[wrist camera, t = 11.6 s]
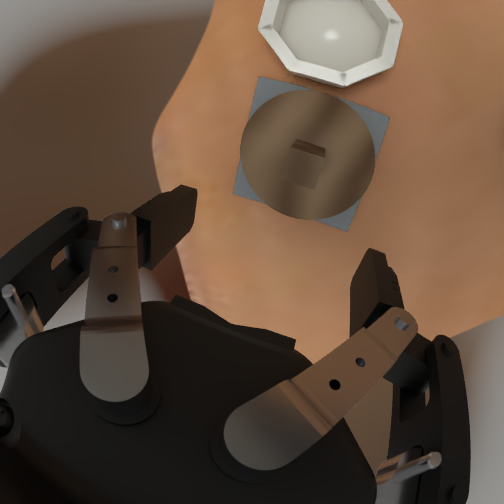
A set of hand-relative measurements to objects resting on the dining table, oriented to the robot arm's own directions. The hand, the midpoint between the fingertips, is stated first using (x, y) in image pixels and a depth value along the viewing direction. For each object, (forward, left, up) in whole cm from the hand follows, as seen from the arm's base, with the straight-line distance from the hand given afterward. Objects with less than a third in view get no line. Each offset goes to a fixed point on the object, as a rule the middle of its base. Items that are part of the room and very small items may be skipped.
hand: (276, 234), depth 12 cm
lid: (0, 0, -18) cm, 18 cm away
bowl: (+1, -14, -19) cm, 24 cm away
